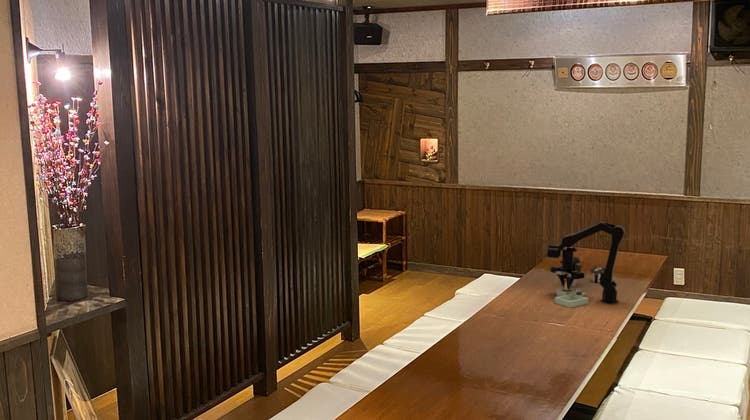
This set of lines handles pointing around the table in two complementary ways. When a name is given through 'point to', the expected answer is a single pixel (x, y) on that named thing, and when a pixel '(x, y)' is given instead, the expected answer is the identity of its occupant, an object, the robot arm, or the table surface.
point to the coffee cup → (575, 271)
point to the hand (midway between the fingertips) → (566, 288)
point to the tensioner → (570, 292)
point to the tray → (571, 300)
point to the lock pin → (565, 285)
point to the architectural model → (597, 273)
